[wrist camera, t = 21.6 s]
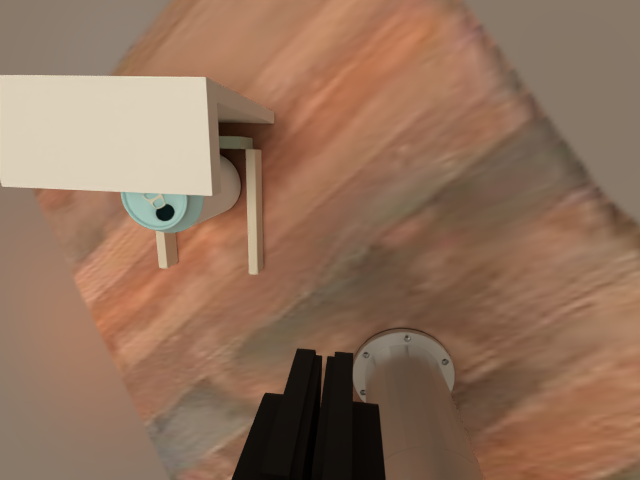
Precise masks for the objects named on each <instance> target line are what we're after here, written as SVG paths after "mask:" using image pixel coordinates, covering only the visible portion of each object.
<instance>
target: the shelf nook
mask: <svg viewBox="0 0 640 480" xmlns="http://www.w3.org/2000/svg"><path fill="white" fill-rule="evenodd" d="M218 122H224V123H267V124H274V112H273V111H271V110H269V109H267V108H265V107H264V106H262V105H260V104H258V103H256V102H254V101H252V100H250V99H248V98H246V97H244V96H242V95H240V94H238V93H236V92H234V91H232V90H230V89H228V88H226V87H224V86H222V85H220V84H218V83H216V82H214V81H212V80H210V79H209V78H207V77H146V76H46V75H45V76H43V75H42V76H41V75H0V180H1V184H2V186H4V187H27V188H48V189H70V190H93V191H115V192H137V193H160V194H182V195H204V196H213V195H217V194H220V193H221V174H220V153H219V148H223V149H246V181H247V217H248V253H249V274H258V273H259V272H260V271H261V269H262V268H263V217H262V153H261V150H256V149H253V138H247V137H239V136H219V132H218ZM156 239H157V249H158V259H159V268H169V267H171V266H172V265H174V264H175V263H177V262H178V253H177V241H176V233H164V232H159V231H156Z"/></svg>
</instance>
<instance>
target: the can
mask: <svg viewBox="0 0 640 480" xmlns="http://www.w3.org/2000/svg"><path fill="white" fill-rule="evenodd" d="M220 174H221V193H220V194H217V195H213V196H204V195H182V194H160V193H137V192H121V198H122V202H123V205H124V207H125V209H126V211H127V212H128V214H129V215H130V216H131V217H132V218H133V219H134V220H135V221H136V222H137V223H138V224H140V225H142V226H144V227H146V228H149V229H152V230H156V231H159V232H164V233H176V232H180V231H183V230H186V229H188V228H190V227H192V226H194V225H197V224H199V223H201V222H203V221H206V220H208V219H210V218H212V217H215V216H217V215H219V214H221V213H223V212H226V211H227V210H229V209H230V208H232V207H233V206H234V204H235V203H236V202H237V200H238V198H239V195H240V189H241V183H240V178H239V175H238V172H237V170H236V168H235V167H234V165H233V164H232V163H231V162H230V161H229V160H228V159H226V158H225V157H223V156H222V155H220Z"/></svg>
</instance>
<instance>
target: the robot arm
mask: <svg viewBox="0 0 640 480" xmlns="http://www.w3.org/2000/svg"><path fill="white" fill-rule="evenodd" d="M407 335H408V336H407ZM321 377H322V356H320V355H316V351H315V350H310V349H297V351H296V354H295V357H294V361H293V364H292V367H291V371H290V374H289V377H288V381H287V384H286V388H285V391H284V394H274V393H265V394H264V396H263V398H262V401H261V403H260V406H259V409H258V411H257V414H256V417H255V419H254V422H253V424H252V427H251V430H250V432H249V435H248V438H247V440H246V443H245V446H244V448H243V451H242V453H241V456H240V459H239V461H238V464H237V467H236V469H235V472H234V475H233V477H232V480H485V478H484V476H483V473H482V470H481V468H480V466H479V463H478V460H477V458H476V455H475V453H474V450H473V448H472V445H471V443H470V440H469V438H468V435H467V433H466V430H465V428H464V425H463V423H462V420H461V418H460V415H459V413H458V410H457V408H456V405H455V403H454V400H453V398H452V395H451V392H452V390H453V386H454V383H455V370H454V365H453V363H452V360H451V358H450V356H449V354H448V353H447V351H446V349H445V348H444V347H443V346H442V345H441V344H440V343H439V342H438V341H437V340H435V339H434V338H433V337H431V336H429V335H427V334H425V333H423V332H419V331H416V330H410V329H393V330H389V331H384V332H382V333H380V334H377V335H375V336H374V337H372V338H370V339H369V340H368V341H367V342H366V343H365V344H363V345H362V347H361V348H360V349H359V351H358V352H357V354H356V357H355V359H354V363H353V353H344V352H335V357H332V356H328V357H327V364H326V371H325V378H324V386H323V393H322V400H321ZM353 383H354V387H355V389H356V392H357V394H358V395H359V397H360V398H361V400H362V401H363V402H364V403H363V402H353ZM320 405H321V408H320Z"/></svg>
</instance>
